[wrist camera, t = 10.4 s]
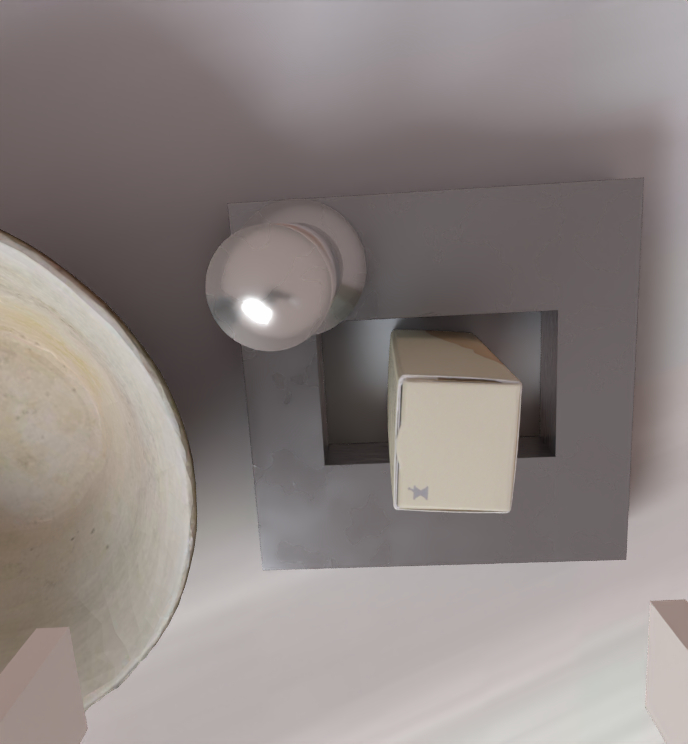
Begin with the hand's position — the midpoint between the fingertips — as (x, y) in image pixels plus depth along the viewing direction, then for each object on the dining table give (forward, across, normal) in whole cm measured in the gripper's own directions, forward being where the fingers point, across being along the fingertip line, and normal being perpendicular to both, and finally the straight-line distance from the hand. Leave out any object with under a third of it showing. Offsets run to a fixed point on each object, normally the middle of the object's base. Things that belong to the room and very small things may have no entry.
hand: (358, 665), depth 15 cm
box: (+20, +4, +2) cm, 20 cm away
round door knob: (+20, -2, +8) cm, 21 cm away
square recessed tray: (+20, +4, +2) cm, 20 cm away
